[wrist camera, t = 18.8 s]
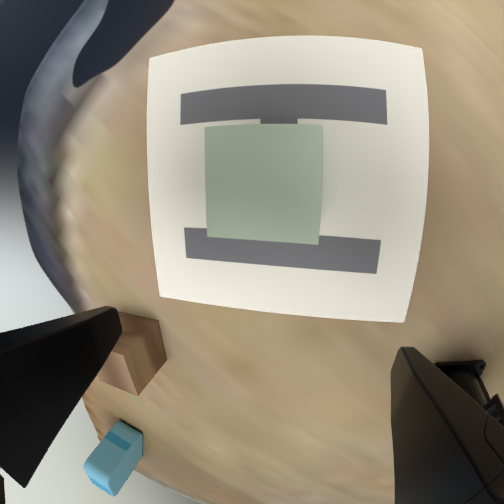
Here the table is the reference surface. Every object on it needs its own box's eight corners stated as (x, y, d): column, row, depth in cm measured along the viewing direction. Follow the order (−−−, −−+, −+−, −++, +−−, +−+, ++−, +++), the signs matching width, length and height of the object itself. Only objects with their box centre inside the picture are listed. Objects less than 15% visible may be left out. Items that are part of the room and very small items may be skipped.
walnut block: (158, 320, 26) (123, 355, 20) (167, 359, 27) (138, 395, 22) (120, 311, 27) (84, 340, 21) (130, 349, 29) (99, 380, 23)
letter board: (417, 53, 13) (421, 48, 12) (401, 315, 19) (403, 322, 19) (156, 61, 18) (149, 58, 17) (165, 291, 24) (159, 296, 23)
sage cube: (322, 135, 16) (322, 124, 11) (320, 220, 18) (318, 244, 13) (238, 135, 17) (204, 126, 12) (238, 215, 19) (207, 236, 14)
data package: (119, 417, 36) (81, 465, 25) (143, 431, 35) (106, 483, 24) (123, 444, 40) (93, 484, 29) (143, 455, 40) (114, 498, 29)
